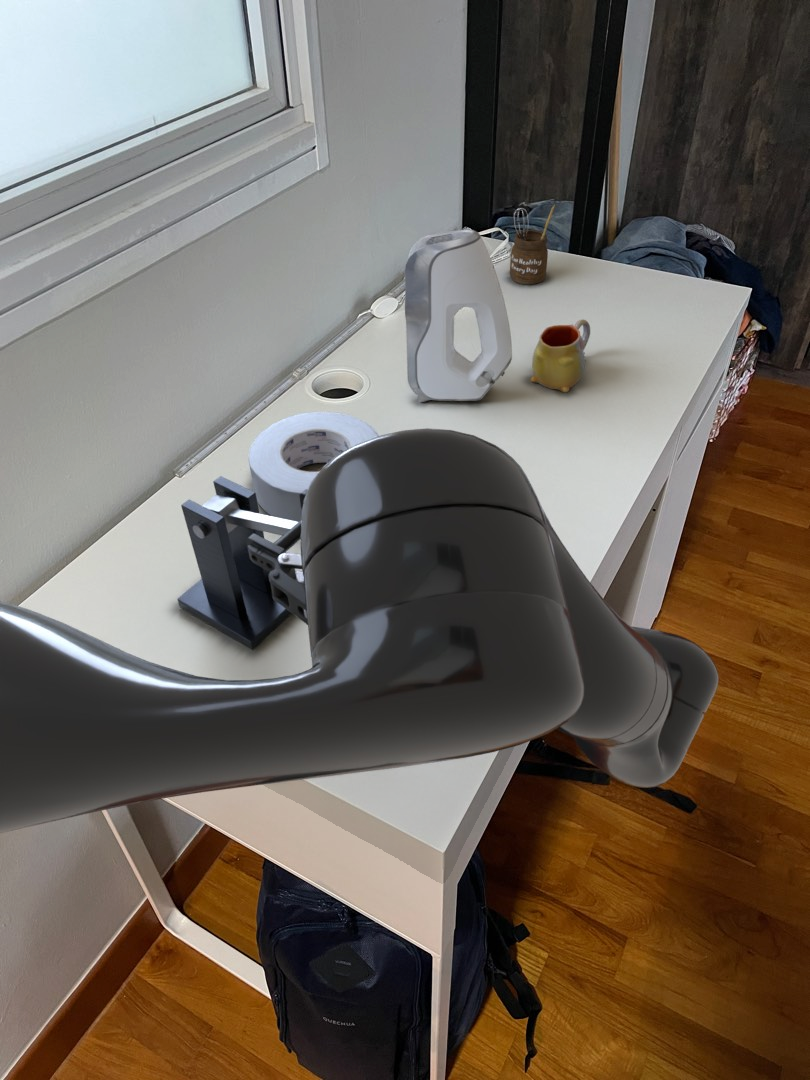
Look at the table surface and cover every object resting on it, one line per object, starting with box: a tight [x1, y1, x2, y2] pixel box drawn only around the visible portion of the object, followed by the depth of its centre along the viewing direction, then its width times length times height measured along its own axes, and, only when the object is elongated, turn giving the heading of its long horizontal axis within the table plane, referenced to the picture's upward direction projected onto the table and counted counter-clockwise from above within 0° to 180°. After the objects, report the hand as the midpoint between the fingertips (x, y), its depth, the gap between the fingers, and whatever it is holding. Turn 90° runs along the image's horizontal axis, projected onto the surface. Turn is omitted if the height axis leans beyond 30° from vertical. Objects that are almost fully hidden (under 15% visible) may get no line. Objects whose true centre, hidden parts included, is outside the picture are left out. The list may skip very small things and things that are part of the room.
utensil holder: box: [509, 204, 556, 286], centre depth 130 cm, size 6×6×12 cm
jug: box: [404, 229, 513, 403], centre depth 102 cm, size 13×5×22 cm, turn 83°
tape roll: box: [248, 411, 380, 522], centre depth 95 cm, size 15×15×5 cm
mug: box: [530, 319, 591, 393], centre depth 111 cm, size 12×7×7 cm, turn 141°
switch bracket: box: [177, 475, 293, 651], centre depth 78 cm, size 10×8×14 cm
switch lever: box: [201, 494, 302, 552], centre depth 72 cm, size 12×6×2 cm, turn 54°
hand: (277, 521), depth 69 cm, fingers closed on switch lever, 6 cm apart
